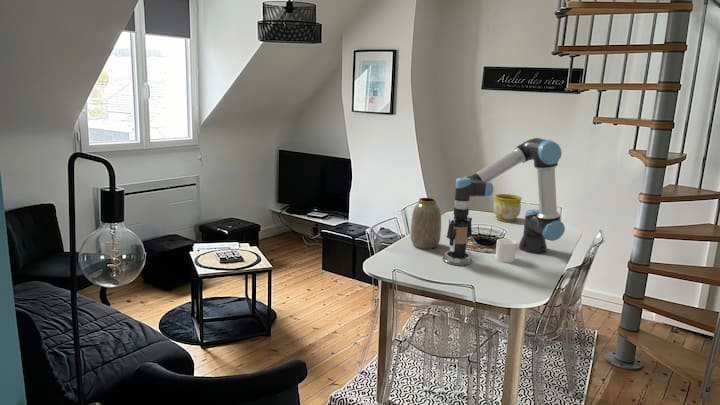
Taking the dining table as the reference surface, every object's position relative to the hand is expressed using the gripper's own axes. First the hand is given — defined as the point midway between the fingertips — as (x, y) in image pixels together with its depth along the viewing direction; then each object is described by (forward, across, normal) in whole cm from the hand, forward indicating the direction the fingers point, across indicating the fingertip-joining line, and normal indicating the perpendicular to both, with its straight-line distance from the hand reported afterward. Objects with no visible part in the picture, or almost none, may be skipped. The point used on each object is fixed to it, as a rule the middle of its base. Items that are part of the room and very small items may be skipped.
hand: (458, 249), depth 276 cm
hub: (+6, 0, 0) cm, 6 cm away
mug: (+6, -26, +9) cm, 28 cm away
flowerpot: (+6, -88, -51) cm, 102 cm away
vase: (+6, -1, -29) cm, 30 cm away
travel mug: (+4, 0, 0) cm, 4 cm away
